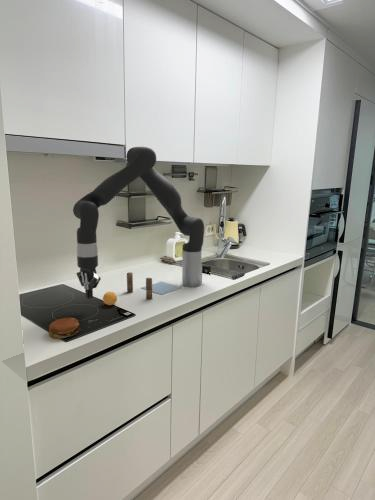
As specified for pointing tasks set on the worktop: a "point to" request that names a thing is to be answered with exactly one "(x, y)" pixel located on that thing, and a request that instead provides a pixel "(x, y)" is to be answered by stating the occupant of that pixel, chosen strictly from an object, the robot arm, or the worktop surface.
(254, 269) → the worktop surface
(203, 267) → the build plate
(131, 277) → the post
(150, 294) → the post
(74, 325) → the burger
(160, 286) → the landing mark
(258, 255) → the worktop surface
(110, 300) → the ball
